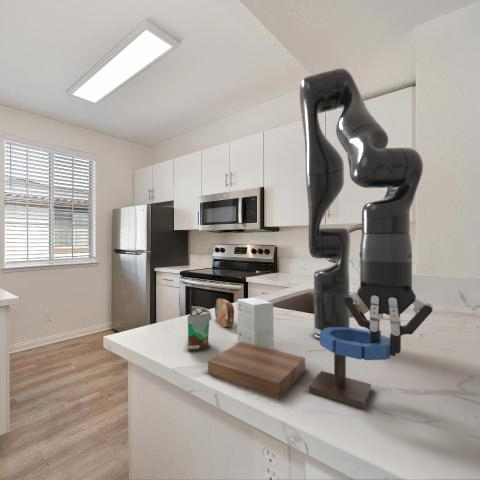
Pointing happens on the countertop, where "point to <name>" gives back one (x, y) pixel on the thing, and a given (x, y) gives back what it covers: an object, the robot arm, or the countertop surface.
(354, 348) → the ring
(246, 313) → the small box
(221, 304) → the mottled orange brown slab
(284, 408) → the countertop surface
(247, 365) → the platform
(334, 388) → the ring stand
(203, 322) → the food container
